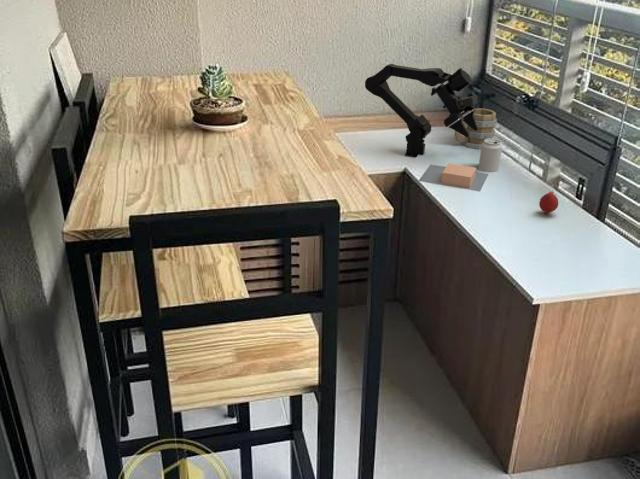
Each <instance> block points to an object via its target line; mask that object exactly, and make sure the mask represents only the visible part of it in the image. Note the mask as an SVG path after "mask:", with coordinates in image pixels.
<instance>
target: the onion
mask: <svg viewBox="0 0 640 479" xmlns="http://www.w3.org/2000/svg"><path fill="white" fill-rule="evenodd" d="M554 193H555V192H554V190H551V191H549V192H548V193H545V194H544V195H542V196H541V197H540V199H539V203H538V205H539V208H540V209H541V211H542V212H544V213H545V214H546V213H547V215H548V213H549V214H550V213H553V212H555V211H556V210H557V209H558V207H559V199H558V197H557V196H556V194H554Z"/></svg>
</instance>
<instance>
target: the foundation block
mask: <svg viewBox="0 0 640 479" xmlns="http://www.w3.org/2000/svg"><path fill="white" fill-rule="evenodd" d="M445 167H446V168H445V170H444V171H443V173H442V181H441V183H444V184H449V185H455V186H461V187H467V188H470V186H471V184H472V182H473V180H474V178H475V172H477V167H474V166H468V165H467V166H466V165H462V164H454V163H448V164H447V166H445Z"/></svg>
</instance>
